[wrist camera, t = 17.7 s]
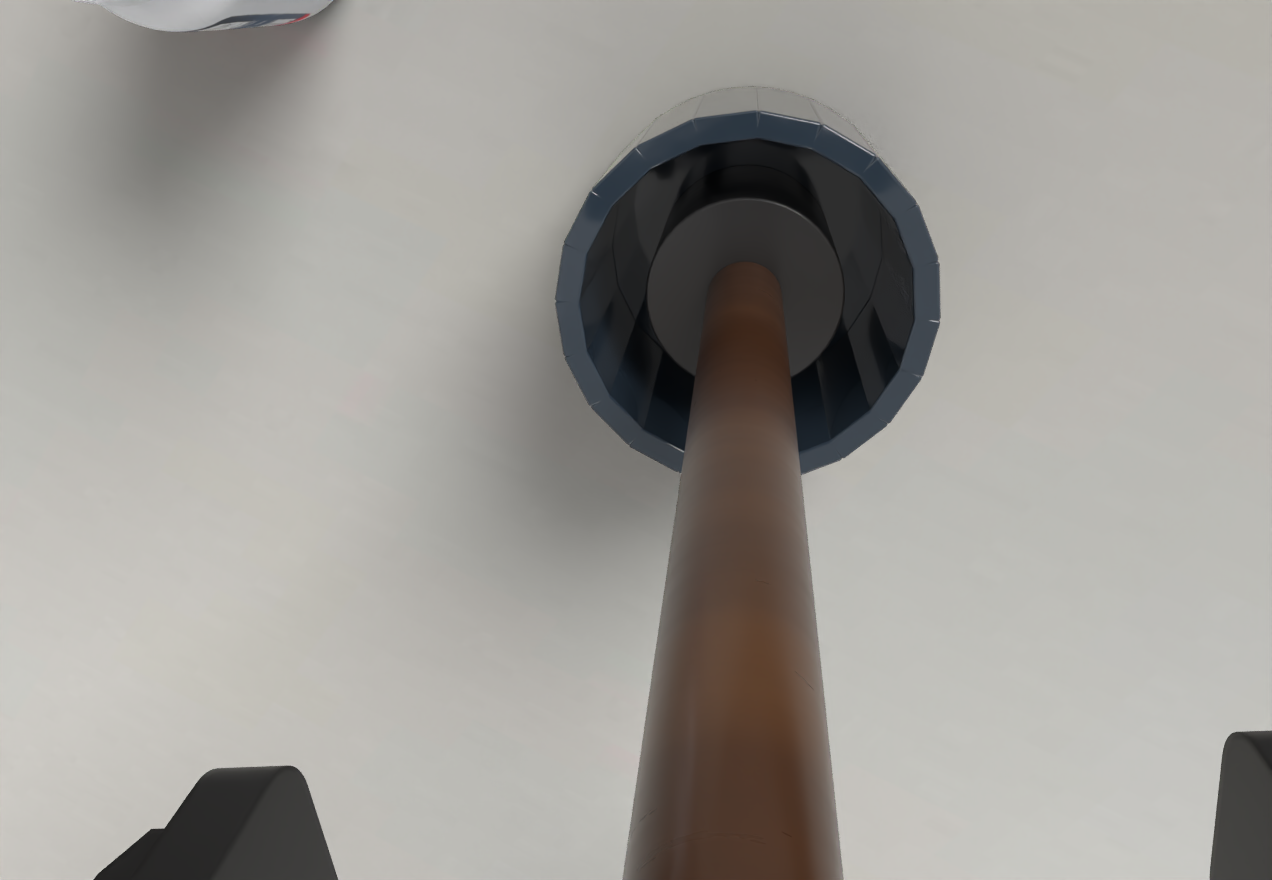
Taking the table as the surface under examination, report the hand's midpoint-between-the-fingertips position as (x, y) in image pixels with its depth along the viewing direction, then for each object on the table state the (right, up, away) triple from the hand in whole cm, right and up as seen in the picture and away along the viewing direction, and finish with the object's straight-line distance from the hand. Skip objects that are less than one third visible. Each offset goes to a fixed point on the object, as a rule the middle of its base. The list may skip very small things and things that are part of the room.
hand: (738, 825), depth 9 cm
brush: (+2, +9, +20) cm, 22 cm away
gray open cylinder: (+2, +9, +21) cm, 23 cm away
